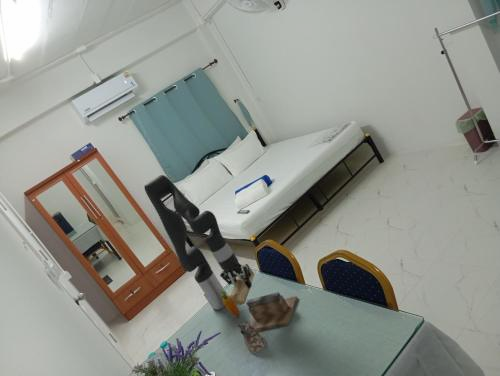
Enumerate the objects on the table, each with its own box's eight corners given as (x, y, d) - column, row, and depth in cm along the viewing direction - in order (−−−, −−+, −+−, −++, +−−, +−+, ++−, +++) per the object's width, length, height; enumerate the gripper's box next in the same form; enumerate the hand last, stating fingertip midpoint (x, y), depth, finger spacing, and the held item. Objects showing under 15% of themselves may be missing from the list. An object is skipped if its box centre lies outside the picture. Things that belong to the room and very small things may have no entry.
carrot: (241, 318, 203) (225, 292, 199) (232, 322, 205) (215, 296, 201) (243, 311, 208) (227, 286, 204) (234, 315, 209) (218, 290, 205)
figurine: (260, 353, 173) (245, 329, 170) (246, 353, 177) (231, 330, 174) (268, 339, 178) (253, 316, 175) (254, 340, 183) (240, 317, 180)
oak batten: (236, 306, 178) (230, 296, 177) (246, 277, 196) (241, 268, 195) (245, 302, 177) (238, 293, 176) (254, 274, 195) (248, 265, 194)
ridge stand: (248, 333, 190) (236, 315, 187) (259, 307, 203) (249, 290, 201) (288, 324, 180) (276, 305, 178) (298, 298, 193) (287, 280, 191)
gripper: (241, 246, 182) (262, 279, 186) (215, 255, 189) (235, 286, 194) (234, 256, 176) (256, 290, 180) (207, 265, 183) (228, 297, 187)
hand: (245, 288), depth 187 cm, fingers closed on oak batten, 4 cm apart
